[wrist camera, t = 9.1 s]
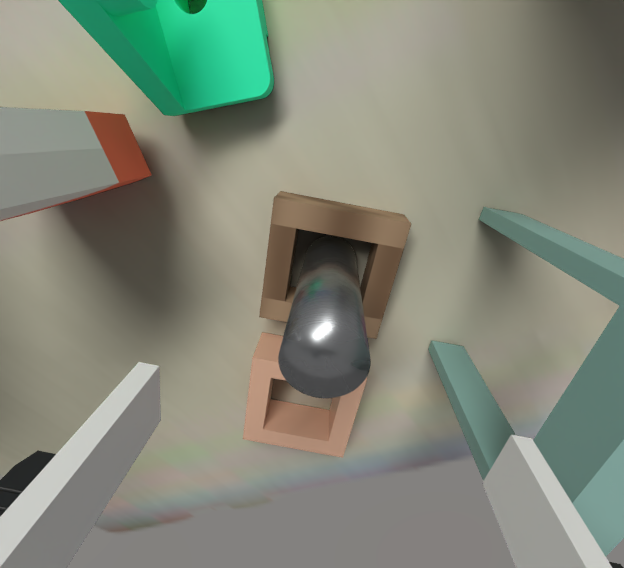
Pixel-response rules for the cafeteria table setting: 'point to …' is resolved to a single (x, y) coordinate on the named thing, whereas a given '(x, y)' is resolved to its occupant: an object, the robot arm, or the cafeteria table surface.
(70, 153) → the french fries container
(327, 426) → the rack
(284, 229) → the socket block
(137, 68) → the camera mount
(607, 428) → the teal green arch
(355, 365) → the metal cylinder
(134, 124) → the cafeteria table surface
